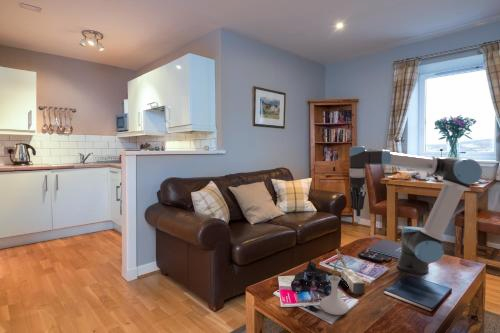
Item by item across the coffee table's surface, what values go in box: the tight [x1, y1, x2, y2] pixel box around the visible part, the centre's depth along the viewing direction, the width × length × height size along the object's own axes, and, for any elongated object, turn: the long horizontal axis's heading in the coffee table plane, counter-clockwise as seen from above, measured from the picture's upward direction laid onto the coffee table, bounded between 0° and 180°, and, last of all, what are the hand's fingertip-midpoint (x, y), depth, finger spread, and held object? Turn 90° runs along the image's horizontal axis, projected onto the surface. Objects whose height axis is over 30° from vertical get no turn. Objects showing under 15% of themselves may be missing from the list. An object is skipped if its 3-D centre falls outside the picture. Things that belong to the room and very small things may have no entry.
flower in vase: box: [319, 248, 349, 316], centre depth 120 cm, size 13×11×25 cm
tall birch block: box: [340, 268, 366, 295], centre depth 140 cm, size 5×5×15 cm
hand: (357, 221), depth 149 cm, fingers closed
